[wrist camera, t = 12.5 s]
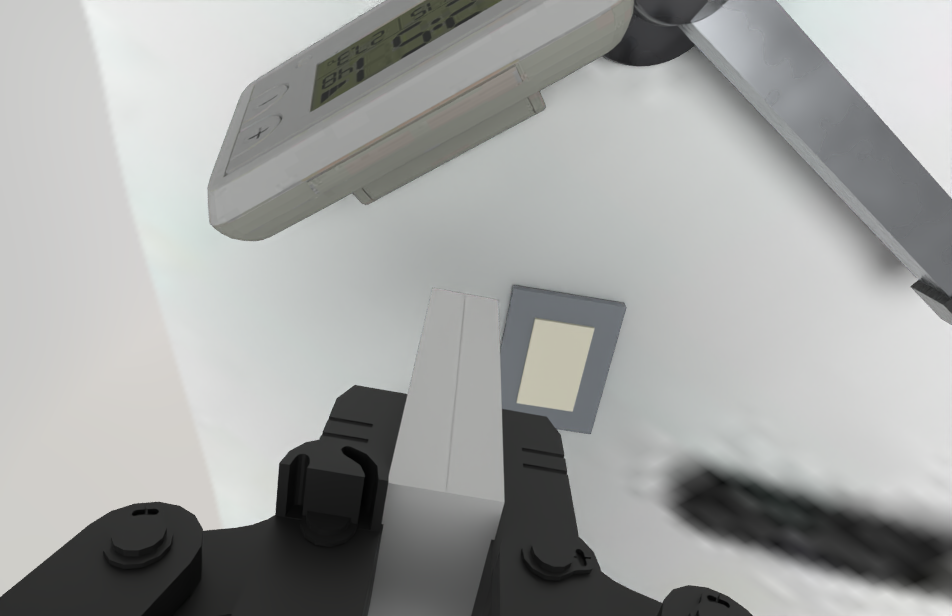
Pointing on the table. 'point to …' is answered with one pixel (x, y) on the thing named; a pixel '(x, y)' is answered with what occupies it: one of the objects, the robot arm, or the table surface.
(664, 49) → the pivot post
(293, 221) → the digital clock
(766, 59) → the swing arm
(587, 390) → the label plate
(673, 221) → the table surface
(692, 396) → the table surface
